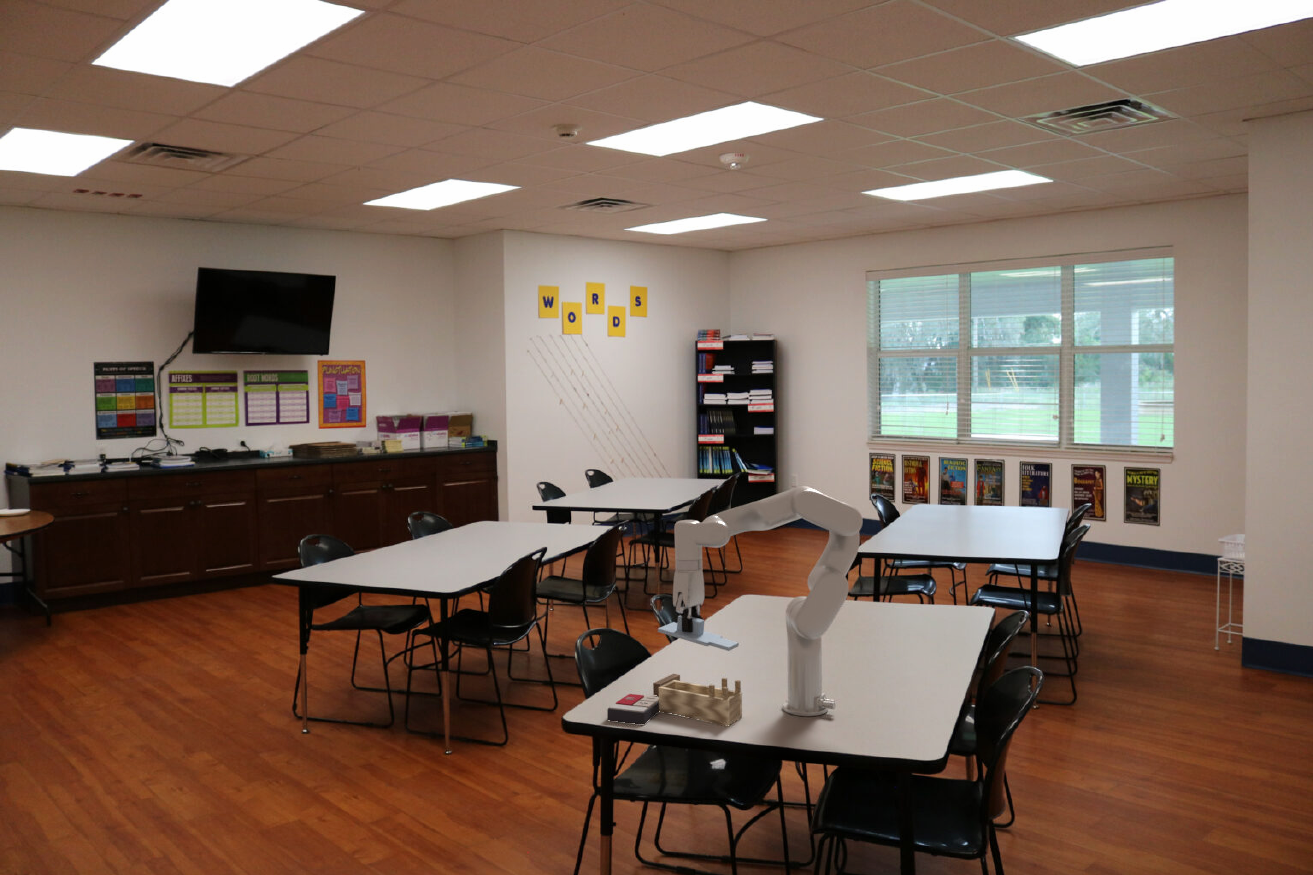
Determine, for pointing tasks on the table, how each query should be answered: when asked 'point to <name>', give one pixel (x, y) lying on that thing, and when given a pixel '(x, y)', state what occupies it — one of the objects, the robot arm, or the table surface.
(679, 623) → the lid
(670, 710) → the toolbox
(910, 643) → the table surface
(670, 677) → the brown wooden block
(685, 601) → the robot arm
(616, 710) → the grey red box
